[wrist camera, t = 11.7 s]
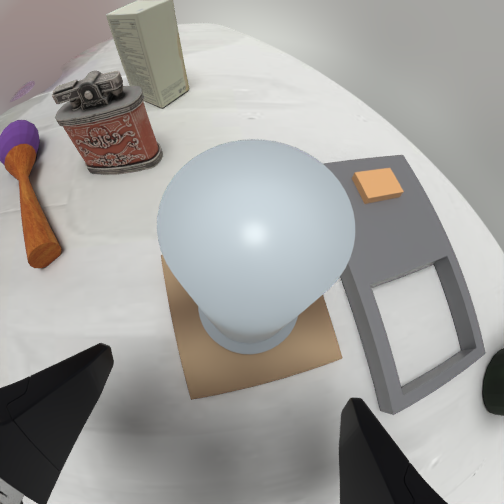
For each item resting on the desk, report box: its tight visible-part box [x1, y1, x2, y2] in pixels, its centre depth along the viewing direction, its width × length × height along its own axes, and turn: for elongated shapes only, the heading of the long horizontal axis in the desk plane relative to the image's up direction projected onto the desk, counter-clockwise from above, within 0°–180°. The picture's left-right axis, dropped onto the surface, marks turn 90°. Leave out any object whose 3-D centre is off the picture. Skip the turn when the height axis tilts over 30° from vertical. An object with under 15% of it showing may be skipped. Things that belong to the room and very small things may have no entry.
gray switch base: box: [324, 155, 485, 415], centre depth 18 cm, size 19×10×3 cm, turn 15°
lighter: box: [52, 71, 163, 175], centre depth 19 cm, size 8×3×10 cm, turn 89°
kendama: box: [0, 120, 61, 268], centre depth 20 cm, size 6×6×20 cm
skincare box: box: [106, 0, 189, 108], centre depth 22 cm, size 6×4×12 cm
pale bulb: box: [157, 139, 355, 354], centre depth 12 cm, size 6×6×12 cm
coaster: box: [161, 255, 342, 400], centre depth 18 cm, size 10×10×1 cm
